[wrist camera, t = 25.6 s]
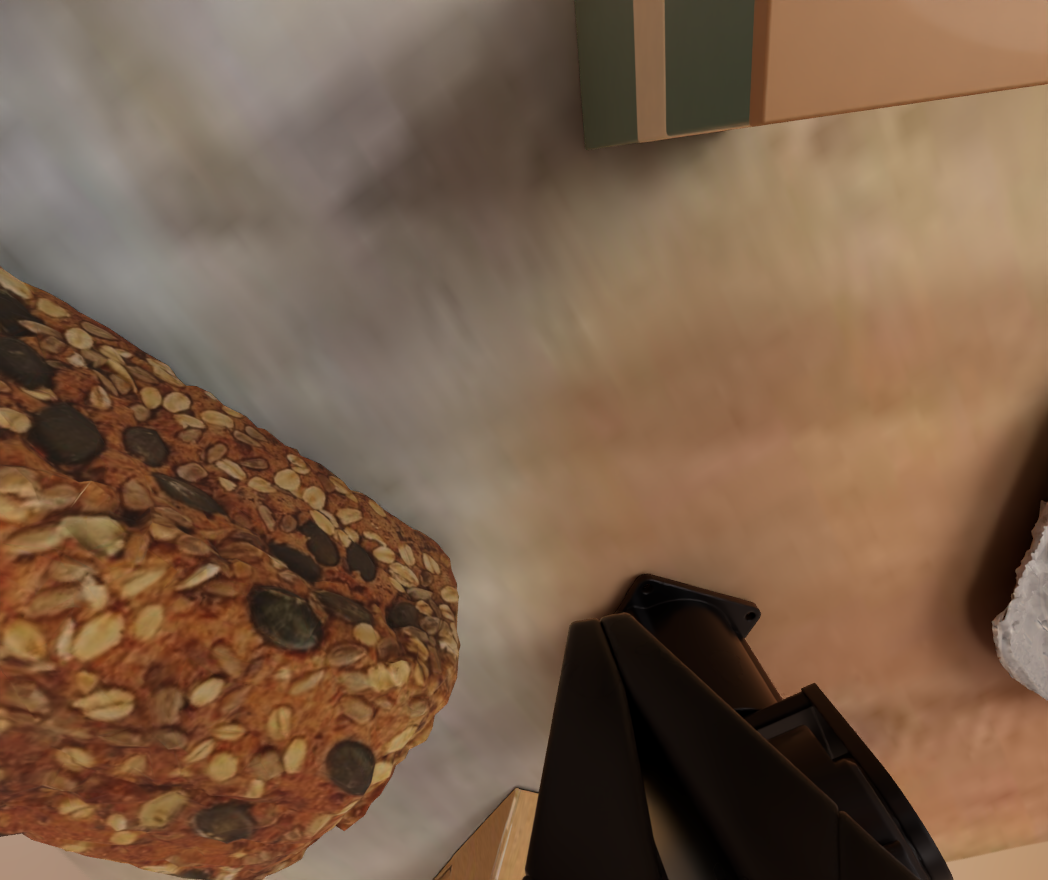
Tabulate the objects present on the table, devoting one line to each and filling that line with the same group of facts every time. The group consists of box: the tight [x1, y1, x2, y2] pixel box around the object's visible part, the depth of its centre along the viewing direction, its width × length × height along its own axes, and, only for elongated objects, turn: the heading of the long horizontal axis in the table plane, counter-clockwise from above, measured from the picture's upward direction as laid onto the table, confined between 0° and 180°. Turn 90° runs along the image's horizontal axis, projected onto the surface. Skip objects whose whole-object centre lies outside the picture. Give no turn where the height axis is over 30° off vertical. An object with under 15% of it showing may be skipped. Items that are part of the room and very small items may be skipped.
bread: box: [0, 267, 460, 880], centre depth 16 cm, size 19×11×10 cm, turn 46°
